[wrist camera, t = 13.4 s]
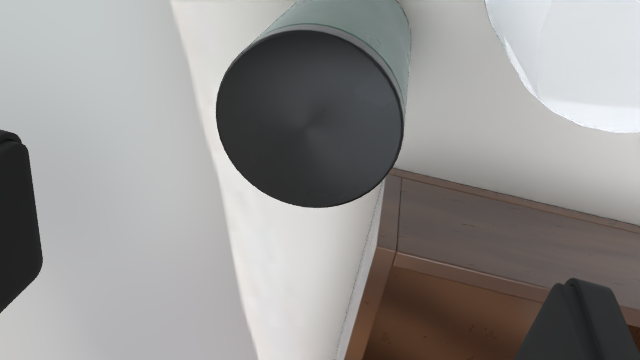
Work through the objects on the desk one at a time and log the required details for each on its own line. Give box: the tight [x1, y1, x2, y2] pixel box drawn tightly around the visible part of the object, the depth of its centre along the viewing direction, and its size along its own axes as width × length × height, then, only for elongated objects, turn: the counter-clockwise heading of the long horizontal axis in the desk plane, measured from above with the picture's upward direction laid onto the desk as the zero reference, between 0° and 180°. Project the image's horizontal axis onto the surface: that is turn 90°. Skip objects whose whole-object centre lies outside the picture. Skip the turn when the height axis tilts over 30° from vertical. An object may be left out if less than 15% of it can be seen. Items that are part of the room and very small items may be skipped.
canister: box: [216, 0, 411, 208], centre depth 19 cm, size 6×6×10 cm
